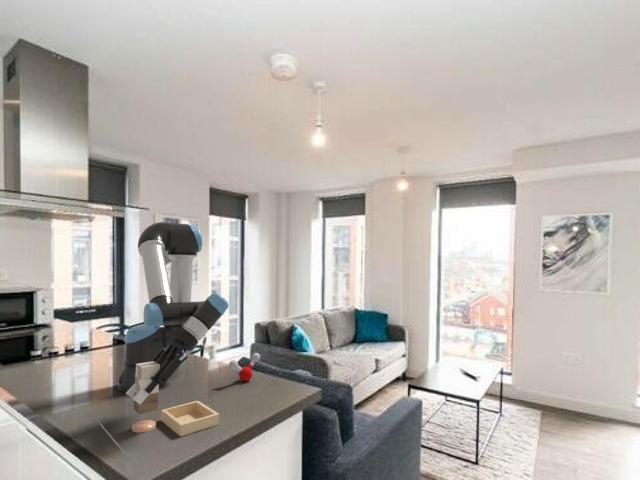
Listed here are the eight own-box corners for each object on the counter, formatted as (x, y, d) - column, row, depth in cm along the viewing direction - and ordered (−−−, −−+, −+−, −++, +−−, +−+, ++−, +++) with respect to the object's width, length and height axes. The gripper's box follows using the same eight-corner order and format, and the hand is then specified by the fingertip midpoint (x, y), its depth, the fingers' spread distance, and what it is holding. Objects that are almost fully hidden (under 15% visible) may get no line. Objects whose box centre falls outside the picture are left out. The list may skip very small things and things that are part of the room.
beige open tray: (160, 421, 114) (161, 409, 114) (197, 411, 123) (197, 400, 123) (180, 438, 104) (181, 425, 105) (218, 425, 113) (219, 413, 113)
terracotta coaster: (126, 433, 106) (127, 428, 106) (139, 423, 113) (139, 419, 113) (148, 434, 106) (148, 430, 106) (159, 424, 112) (160, 420, 112)
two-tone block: (133, 408, 109) (136, 364, 110) (151, 404, 112) (153, 361, 113) (139, 414, 105) (142, 367, 106) (157, 409, 109) (159, 364, 110)
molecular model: (251, 374, 164) (252, 351, 165) (262, 376, 162) (263, 352, 162) (226, 385, 148) (227, 360, 149) (238, 388, 146) (239, 362, 146)
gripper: (211, 346, 114) (154, 415, 102) (185, 337, 127) (131, 397, 115) (196, 331, 111) (134, 400, 98) (170, 323, 124) (113, 383, 111)
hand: (133, 398), depth 107 cm, fingers closed on two-tone block, 5 cm apart
